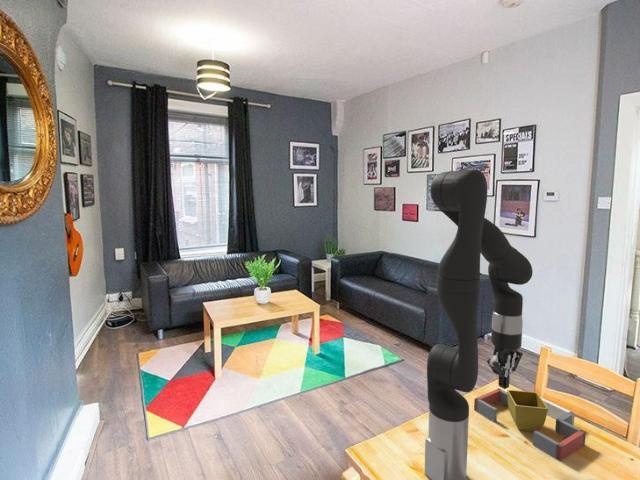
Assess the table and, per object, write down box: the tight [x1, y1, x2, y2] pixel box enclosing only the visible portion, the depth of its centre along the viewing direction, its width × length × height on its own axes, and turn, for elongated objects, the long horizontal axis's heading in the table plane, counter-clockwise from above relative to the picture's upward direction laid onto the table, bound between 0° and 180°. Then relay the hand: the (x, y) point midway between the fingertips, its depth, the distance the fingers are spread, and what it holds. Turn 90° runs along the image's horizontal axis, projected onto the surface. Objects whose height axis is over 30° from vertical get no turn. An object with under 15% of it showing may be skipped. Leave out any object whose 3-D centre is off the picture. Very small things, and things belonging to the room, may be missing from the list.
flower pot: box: [506, 389, 548, 432], centre depth 109 cm, size 9×9×9 cm
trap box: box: [473, 388, 587, 462], centre depth 111 cm, size 26×19×4 cm
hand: (503, 387), depth 102 cm, fingers closed
